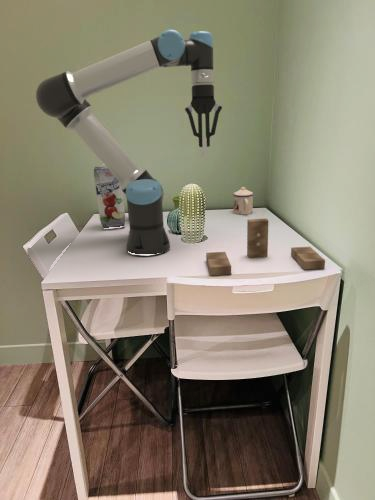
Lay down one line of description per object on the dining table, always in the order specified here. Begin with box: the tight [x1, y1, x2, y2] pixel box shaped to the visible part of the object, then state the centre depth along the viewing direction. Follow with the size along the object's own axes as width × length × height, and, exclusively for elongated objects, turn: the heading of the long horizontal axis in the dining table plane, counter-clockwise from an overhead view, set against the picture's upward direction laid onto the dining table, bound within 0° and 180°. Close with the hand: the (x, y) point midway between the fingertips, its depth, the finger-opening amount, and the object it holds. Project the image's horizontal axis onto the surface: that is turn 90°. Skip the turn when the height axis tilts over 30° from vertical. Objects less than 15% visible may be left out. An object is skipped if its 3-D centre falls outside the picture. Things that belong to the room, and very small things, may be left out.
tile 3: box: [290, 246, 326, 271], centre depth 112 cm, size 6×3×12 cm
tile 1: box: [205, 251, 232, 276], centre depth 111 cm, size 6×3×12 cm
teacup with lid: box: [232, 186, 254, 215], centre depth 169 cm, size 12×9×12 cm
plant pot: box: [171, 195, 180, 210], centre depth 170 cm, size 9×9×9 cm
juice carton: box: [93, 163, 126, 229], centre depth 154 cm, size 9×10×27 cm
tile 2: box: [246, 218, 269, 259], centre depth 116 cm, size 6×3×12 cm, turn 93°
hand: (204, 156), depth 133 cm, fingers closed
